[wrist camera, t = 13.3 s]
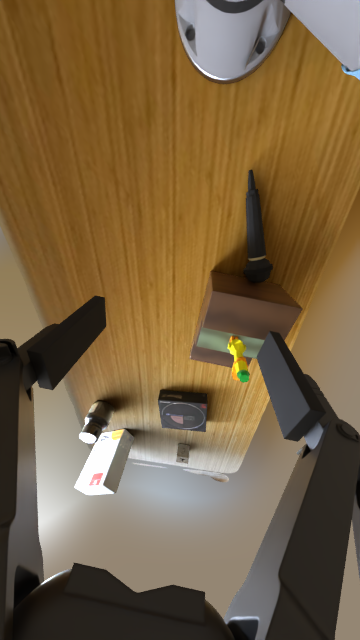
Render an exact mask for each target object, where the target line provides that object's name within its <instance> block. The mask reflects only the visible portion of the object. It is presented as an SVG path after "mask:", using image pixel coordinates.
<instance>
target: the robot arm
mask: <svg viewBox="0 0 360 640" xmlns="http://www.w3.org/2000/svg"><path fill="white" fill-rule="evenodd" d="M175 9H176V17H177V23H178V29H179V34H180V38H181V41H182V45H183V48H184V50H185V52H186V55H187V57H188V59H189V60H190V62H191V64H192V65H193V66H194V68H195V69H196V70H197V71H198V72H199V73H200V74H201V75H202V76H203V77H205V78H206V79H208V80H210V81H212V82H215V83H219V84H230V83H234V82H237V81H240V80H242V79H244V78H246V77H247V76H249V75H250V74H252V73H253V72H254V71H255V70H257V69H258V68H259V67H260V66H261V65H262V63H263V62H264V61H265V60H266V59H267V57H268V56H269V55H270V53H271V52H272V50H273V49H274V47H275V46H276V44H277V42H278V40H279V38H280V37H281V35H282V32H283V30H284V28H285V26H286V23H287V21H288V19H289V16H290V14H291V12H292V13H293V14H294V15H295V16H296V17H297V18H298V19H299V20H300V21H301V22H302V23H303V24H304V25H305V26H306V27H307V28H308V29H309V30H310V31H311V32H312V33H313V34H314V36H315V37H316V38H317V39H318V40H319V41H320V42H321V43H322V44H323V45H324V46H325V47H326V48H327V49H328V50H329V51H330V52H331V53H332V54H333V55H334V56H335V57H336V58H337V59H338V60H339V61H340V62H341V63H342V66H341V67H342V69H343V71H344V72H345V73H346V74H349V75H352V76H355V77H356V78H358V79H359V80H360V0H175ZM105 327H106V312H105V297H100V296H94V297H93V298H92V299H90V300H89V301H88V302H87V303H85V304H84V305H83V306H82V307H80V308H79V309H78V310H77V311H75V312H74V313H73V314H72V315H70V316H69V317H68V318H66V319H65V320H64V321H63V322H61V323H60V324H52V325H50V326H47V327H45V328H44V329H43V330H41V331H40V332H39V333H37V334H36V335H35V336H34V337H32V338H31V339H29V340H28V341H27V342H25V343H24V344H23V345H21V346H20V347H19V348H17V347H16V344H15V342H14V341H13V340H11V339H0V640H335V630H336V623H337V617H338V610H339V603H340V596H341V589H342V582H343V575H344V568H345V561H346V554H347V547H348V540H349V533H350V526H351V520H352V522H353V531H354V539H355V546H356V554H357V562H358V570H359V577H360V435H359V433H358V432H357V431H356V430H355V429H354V428H353V427H352V426H351V425H349V424H348V423H347V422H345V421H343V420H340V419H339V418H338V417H337V415H336V414H335V412H334V410H333V409H332V407H331V406H330V404H329V402H328V401H327V399H326V398H325V397H324V394H323V393H322V391H320V388H319V387H318V385H317V383H316V382H315V381H314V380H313V379H312V378H311V377H310V376H309V375H307V374H303V372H302V370H301V369H300V367H299V365H298V363H297V362H296V360H295V358H294V357H293V355H292V353H291V352H290V350H289V348H288V347H287V345H286V343H285V341H284V340H283V338H282V336H281V335H280V333H278V332H273V331H269V333H268V335H267V337H266V339H265V341H264V343H263V345H262V347H261V349H260V351H259V353H258V355H257V360H258V363H259V366H260V369H261V372H262V375H263V378H264V381H265V384H266V387H267V390H268V393H269V396H270V399H271V402H272V404H273V408H274V410H275V413H276V416H277V419H278V422H279V425H280V428H281V431H282V434H283V437H284V439H288V440H293V441H299V440H300V439H301V438H302V437H303V436H304V438H305V440H306V442H307V444H306V445H304V446H303V447H302V448H301V449H300V450H299V451H298V452H297V454H300V456H299V458H298V460H297V463H296V465H295V467H294V470H293V472H292V474H291V476H290V479H289V481H288V484H287V486H286V488H285V490H284V493H283V495H282V497H281V500H280V502H279V504H278V507H277V509H276V511H275V514H274V516H273V518H272V520H271V523H270V525H269V527H268V530H267V532H266V534H265V536H264V539H263V541H262V543H261V546H260V548H259V550H258V553H257V555H256V557H255V560H254V562H253V564H252V567H251V569H250V571H249V573H248V576H247V578H246V580H245V582H244V584H243V585H242V587H241V588H240V590H239V591H238V592H237V594H236V595H235V597H234V598H233V600H232V602H231V604H230V606H229V608H228V611H227V613H226V615H225V617H224V619H223V618H222V617H221V616H220V614H219V613H218V612H217V611H216V609H215V608H214V607H213V606H212V605H211V604H210V603H209V602H207V601H206V600H205V592H203V591H198V590H194V589H189V588H185V587H180V586H176V585H170V586H166V587H161V588H157V589H153V590H148V591H144V592H140V593H136V592H134V591H133V590H131V589H130V588H129V587H127V586H126V585H125V584H124V583H122V582H121V581H120V580H118V579H117V578H116V577H114V576H113V575H112V574H111V573H109V572H108V571H107V570H104V569H99V568H95V567H91V566H86V565H82V564H78V563H74V565H73V567H72V569H70V570H66V571H63V572H61V573H58V574H56V575H55V576H53V577H51V578H49V579H48V580H46V581H45V582H44V574H43V557H42V550H41V546H40V542H39V535H38V511H37V483H36V456H35V429H34V400H33V388H32V385H33V384H34V383H35V382H36V381H38V384H39V387H40V388H45V389H50V390H53V389H54V388H55V387H56V386H57V385H58V383H59V382H60V381H61V380H62V379H63V377H64V376H65V375H66V374H67V373H68V371H69V370H70V369H71V368H72V367H73V365H74V364H75V363H76V362H77V361H78V359H79V358H80V357H81V356H82V355H83V353H84V352H85V351H86V350H87V349H88V347H89V346H90V345H91V344H92V343H93V342H94V340H95V339H96V338H97V337H98V336H99V334H100V333H101V332H102V331H103V330H104V328H105Z"/></svg>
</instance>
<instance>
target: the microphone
mask: <svg viewBox="0 0 360 640" xmlns="http://www.w3.org/2000/svg"><path fill="white" fill-rule="evenodd" d="M246 196H247V198H246V216H247V246H248V259H249V260H250V261H249V262H248V264H247V265H246V268H244V270H243V271H244V274H245V275H246V277H247V279H248V280H249V281H251V282H253V283H260V282H264V281H265V280H267V279H268V278H269V276H270V272H271V270H272V269H273V265H272V264H270V262H269V260H267V259H266V258H264V257H265V256H266V250H265V241H264V232H263V224H262V215H261V207H260V198H259V194H258V189H256V188H255V181H254V176H253V171H252V170H249V176H248V192H247V193H246Z"/></svg>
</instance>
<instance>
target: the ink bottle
mask: <svg viewBox="0 0 360 640" xmlns="http://www.w3.org/2000/svg"><path fill="white" fill-rule="evenodd" d="M113 414H114V408H113V406H112V405H111V404H109V403H107V402H103V401H97V402H95V403H94V404H93V405H92V407H91V409H90V411H89V413H88V414H87V416H86V418H85V422H86V424H85V426H84V427H83V429H82V431H81V433H80V435H79V436H80V438H81V439H82V440H83V441H85V442H87V443H97V442H98V440H99V438H100V436H101V433H102V430H104V429H106V428H107V427H108V425H109V423H110V420H111V418H112V416H113Z"/></svg>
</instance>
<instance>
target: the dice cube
mask: <svg viewBox="0 0 360 640" xmlns="http://www.w3.org/2000/svg"><path fill="white" fill-rule="evenodd" d="M188 459H189V445H184V444H178V451H177V461H176V462H181V463H187V464H188Z"/></svg>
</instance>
